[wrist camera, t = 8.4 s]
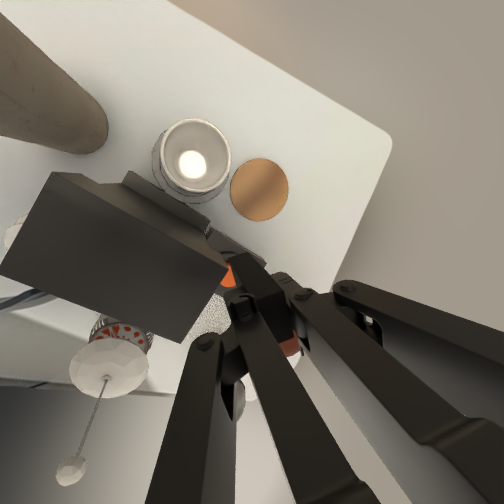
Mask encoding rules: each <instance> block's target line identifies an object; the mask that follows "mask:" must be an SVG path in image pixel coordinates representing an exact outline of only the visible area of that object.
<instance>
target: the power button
mask: <svg viewBox="0 0 504 504" xmlns="http://www.w3.org/2000/svg"><path fill="white" fill-rule="evenodd" d="M226 264H227V266H228V268H229V271H228V272H227V274H226V276H225V277H224V279H223V280H222V282H221V283H220V284H221V285H223V286H225V287H233V286H235V285H236V283H235V280H234V277H233V273H232V270H231V267H230V263H229V262H227V263H226Z"/></svg>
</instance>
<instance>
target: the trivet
mask: <svg viewBox="0 0 504 504" xmlns="http://www.w3.org/2000/svg"><path fill="white" fill-rule="evenodd" d="M230 196H231V200H232V203H233V205H234V207H235V208H236V210H237V211H238V212H239V213H240V214H241V215H243V216H244V217H246V218H248V219H250V220H254V221H264V220H268V219H270V218H272V217H274V216H275V215H277V214H278V213H279V212H280V211H281V209H282V208H283V207H284V205H285V203H286V200H287V197H288V182H287V178H286V176H285V174H284V172H283V170H282V169H281V168H280V167H279V166H278V165H277V164H275V163H274V162H272V161H270V160H267V159H253V160H250V161H248V162H246V163H244V164H243V165H241V166H240V167H239V168H238V169H237V171H236V172H235V174H234V175H233V178H232V180H231V184H230Z"/></svg>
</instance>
